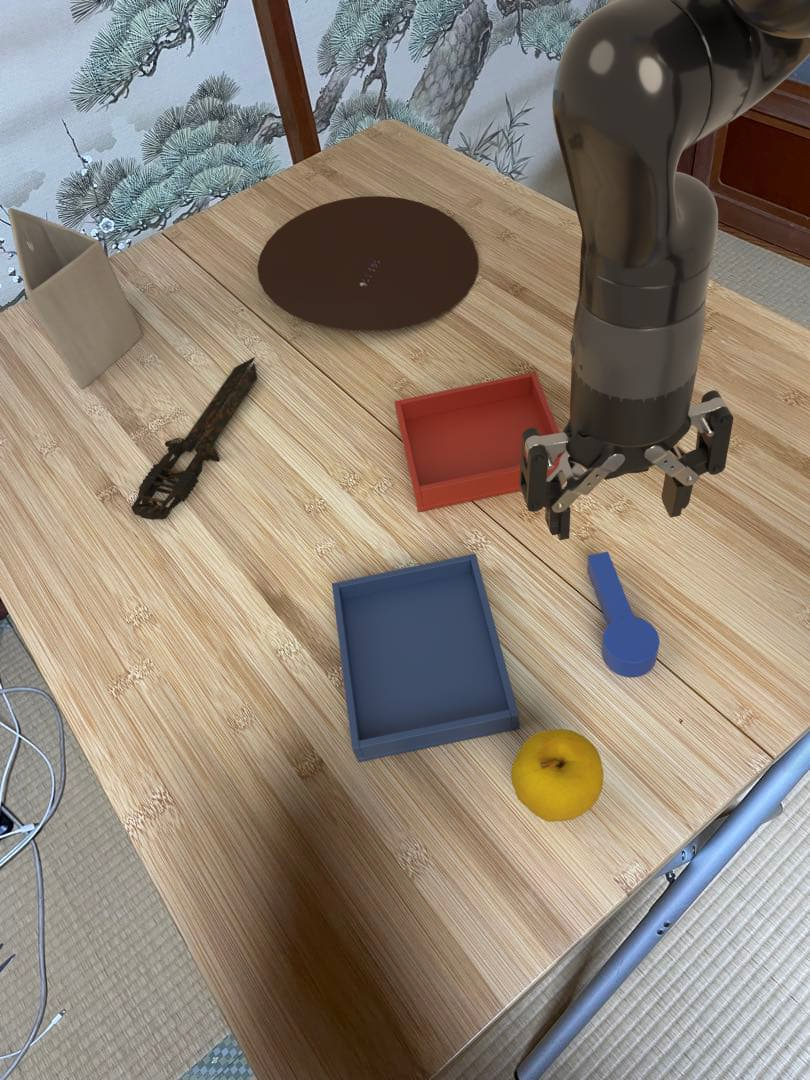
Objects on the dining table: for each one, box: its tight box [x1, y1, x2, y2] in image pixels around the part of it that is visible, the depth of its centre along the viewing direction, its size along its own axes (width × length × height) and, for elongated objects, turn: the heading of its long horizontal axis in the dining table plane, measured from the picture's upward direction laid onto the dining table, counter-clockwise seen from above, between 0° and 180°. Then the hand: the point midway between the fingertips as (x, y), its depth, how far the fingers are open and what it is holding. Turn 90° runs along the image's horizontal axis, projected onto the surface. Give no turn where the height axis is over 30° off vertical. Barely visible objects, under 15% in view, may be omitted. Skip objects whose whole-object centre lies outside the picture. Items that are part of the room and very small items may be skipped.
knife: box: [131, 356, 258, 521], centre depth 92 cm, size 25×6×1 cm, turn 154°
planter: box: [7, 207, 144, 390], centre depth 99 cm, size 16×8×19 cm, turn 11°
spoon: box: [586, 551, 660, 678], centre depth 71 cm, size 11×4×2 cm, turn 9°
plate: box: [257, 195, 479, 331], centre depth 107 cm, size 28×28×4 cm
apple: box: [510, 728, 604, 823], centre depth 60 cm, size 6×6×8 cm
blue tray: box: [331, 553, 520, 763], centre depth 71 cm, size 13×16×3 cm
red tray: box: [393, 371, 564, 513], centre depth 85 cm, size 15×13×3 cm
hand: (615, 519), depth 63 cm, fingers open, 8 cm apart
